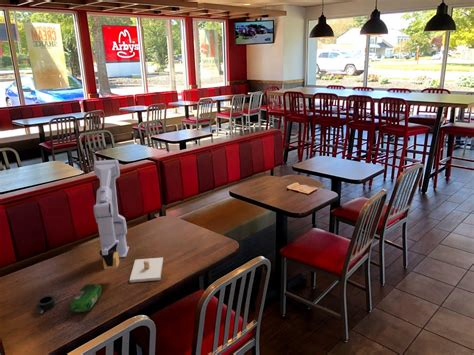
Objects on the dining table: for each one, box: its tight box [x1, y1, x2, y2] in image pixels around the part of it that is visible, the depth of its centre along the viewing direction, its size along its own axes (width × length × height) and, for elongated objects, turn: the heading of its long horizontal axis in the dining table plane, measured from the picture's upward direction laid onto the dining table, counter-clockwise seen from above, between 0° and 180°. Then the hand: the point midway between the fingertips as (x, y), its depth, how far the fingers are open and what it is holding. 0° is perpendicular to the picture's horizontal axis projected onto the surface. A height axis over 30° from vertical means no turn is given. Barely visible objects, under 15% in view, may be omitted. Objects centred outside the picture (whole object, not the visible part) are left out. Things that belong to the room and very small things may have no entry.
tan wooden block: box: [102, 252, 120, 270], centre depth 153 cm, size 5×5×4 cm
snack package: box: [70, 283, 103, 313], centre depth 140 cm, size 7×16×5 cm, turn 176°
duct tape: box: [35, 293, 57, 315], centre depth 139 cm, size 8×10×3 cm
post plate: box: [129, 257, 164, 283], centre depth 160 cm, size 16×12×4 cm
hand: (111, 262), depth 154 cm, fingers closed on tan wooden block, 5 cm apart
